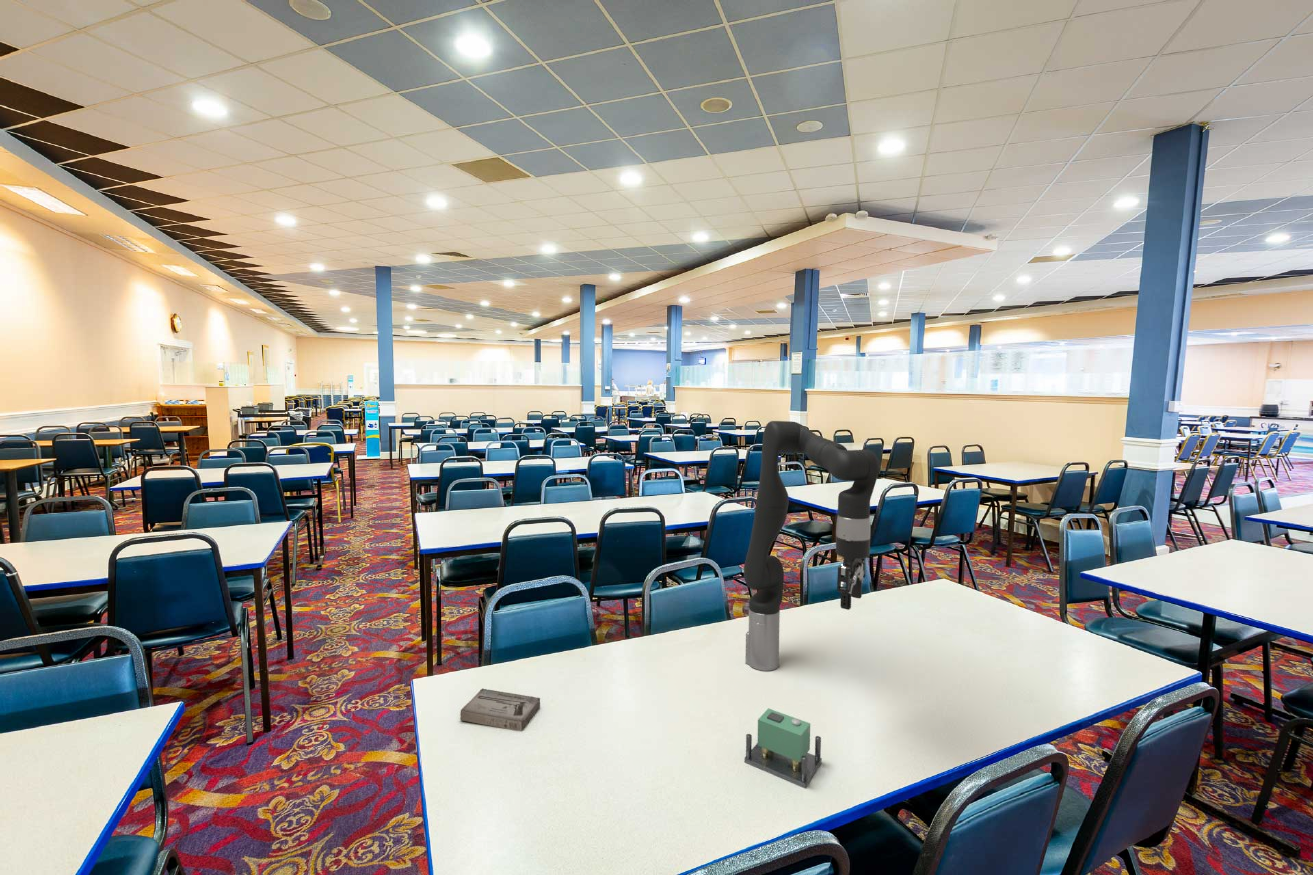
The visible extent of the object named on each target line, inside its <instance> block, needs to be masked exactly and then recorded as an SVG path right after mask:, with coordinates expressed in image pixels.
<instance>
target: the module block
mask: <svg viewBox="0 0 1313 875" xmlns="http://www.w3.org/2000/svg"><path fill="white" fill-rule="evenodd" d="M757 743H758V746H761V747H763V748H766V749H768V750H770V751H773V752H775V753H778V754H780V755H783V756H785V757H788V758H790V759H793V760H795V761H798V762H800V763H801V758H802V756H805V755H806V754H807V753H809V751H810V749H811V723H810V722H808V721H804V720H802V719H800V718H796V717H794V716H790V715H788V714H785V713H783V712H780V711H777V710H774V709H772V708H767V709H766V710H765V711H764V712H763V714H762V715H761V716H760V717H758V719H757Z"/></svg>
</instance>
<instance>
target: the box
mask: <svg viewBox="0 0 1313 875" xmlns="http://www.w3.org/2000/svg"><path fill="white" fill-rule="evenodd" d="M540 706H541V698H540V697H537V696H530V695H525V694H523V695H522V694H517V693H512V692H506V691H505V692H504V691H499V690H494V689H493V690H492V689H487V688H481V689H480V690H479V691H478V692H477V693H476V694H475V695H474V696H473V698H472V699H470V700H469V701H468V702H467V703H466V704H465V705H464V706H463V707H462V708H461V709H460V712H459V713H460V714H459V716H460V717H459V718H460V721H462V722H469V723H474V724H478V725H479V724H480V725H484V726H490V727H494V728H495V727H496V728H502V729H506V730H513V731H519V732H522V731H523V730H524V729H525V728H526V726H527V725H528V723H529V722H530V720H532V719H533V717H534V716H536V714H537V712H538V711H539V710H540V708H541V707H540Z"/></svg>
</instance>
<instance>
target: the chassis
mask: <svg viewBox="0 0 1313 875" xmlns="http://www.w3.org/2000/svg"><path fill="white" fill-rule="evenodd" d="M745 735H746V737H745V756H744V763H745V764H747V765H750V766H753V767H756V768H757V769H759V770H762V771H764V772H765V773H769V774H770V775H773V776H776V777H778V778H780V779H783V780H786V781H787V782H789V783H792V784H795V785H797V786H800V787H802V788H803V789H806V787H807V786H808V785H809V783H810V781H811V780H812V778H813V776H814V775H815V773H816V772H817V771H818V769H819V767H820V766H821V764H822V762H823V761H822V756H821V755H822V753H821V752H822V751H821V750H822V737H821V736H820V735H816V736H815V740H814V741H815V742H814V744H815V746H814V754H812V753H810V752H808V753H807V754H806V755H805V756H802V758H801V763H800V762H798V761H795V760H793V759H790V758H788V757H785V756H783V755H780V754H778V753H775V752H773V751H770V750H768V749H766V748H763V747H761V746H758V742H757V743H756V744H755V745H754V746H752V743H753V741H752V740H753V739H752V737H753V736H752V734H751V733H747V734H745Z"/></svg>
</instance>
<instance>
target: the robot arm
mask: <svg viewBox="0 0 1313 875" xmlns="http://www.w3.org/2000/svg"><path fill="white" fill-rule="evenodd" d="M782 454H785V455H786V454H787V455H788V454H791V455H792V454H804V455H806V457H807V458H808V460H810V462H812V463H813V464H815V465H816V466H819V467H821V468H822V469H826V470H827V471H828V473H830V474H831V476H832V477H834V479H837V480H839V481H847V482H848V481H851V482H852V483H853V484H852V485H851V486H850V487H849V488H847V489H845V490H842V491H840V492H839V494H838V498H837V519H836V525H835V526H836V527H835V528H836V530H835V554H836V555H838V556H839V557H841V558H843V561H842V562H841V565H840V564H839V565H838V567H837V582H836V591H837V592H838V593H840V608H841V609H843V610H848V611H849V610H850V609H851V608H852V598H854V599H861V598H862V595H863V594H862V593H863V592H862V591H863V590H862V589H863V582H864V579H865V578H866V576H867V575H866V573H867V572H866V566H867V565H866V561H867V560H866V559H867V558H869V557H870V555H871V519H870V518H871V516H870V515H871V512H870V511H871V498H872V496H873V492H874V489H875V486H876V483H877V481H878V480H877V479H878V476H879V472H880V471H879V470H880V462H879V459H878V457H877V455H876V454H875V452H873V451H872V450H870V449H847V447H846V446H844V445H843V444H841V443H839V442H836V441H833V440H830V439H827V438H825V437H822V436H820V435H818V434H816V433H815V432H813V431H812V430H810V429H808V428H807V427H806V426H805V425H802V424H801V423H799V422H796V421H787V420H786V421H785V420H771V421H768V423H767V424H766V425H765V427H764V430H763V434H762V445H761V461H760V462H761V463H760V464H761V465H760V474H759V475H760V476H759V482H758V489H757V494H756V499H755V507H754V508H755V509H754V517H753V523H752V529H751V536H750V540H749V545H748V549H747V553H746V556H745V557H746V558H745V561H744V566H743V579H744V582H745V584H746V586H747V588H749V589H751V590H753V591H756V592H755V593H754V594H753V595H752V596H751V597H750V598H749V601H748V631H747V632H745V664H747V665H748V666H750V667H751V668H752V669H755V670H757V671H763V672H767V671H769V672H770V671H774V670H777V669H778V668H779V666H780V622H781V620H780V613H781V612H780V611H781V604H782V603H783V602H782V601H783V598H784V597H783V596H784V585H785V584H784V583H785V571H784V566H783V563H782V562H781V560H780V559H779V558H778V557H777V556H775V555H770V554H769V551H770V548H771V546H772V544H773V543H774V541H775V540H776V538H777V536H778V535H779V533H780V531H781V530H782V529H783V527H784V525H785V522H786V520H787V516H788V510H789V504H790V499H789V498H790V497H789V494H788V491H787V488H786V487H785V484H784V482H783V480H782V477H781V475H780V473H779V472H780V471H779V459H780V458H779V456H780V455H782Z"/></svg>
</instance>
